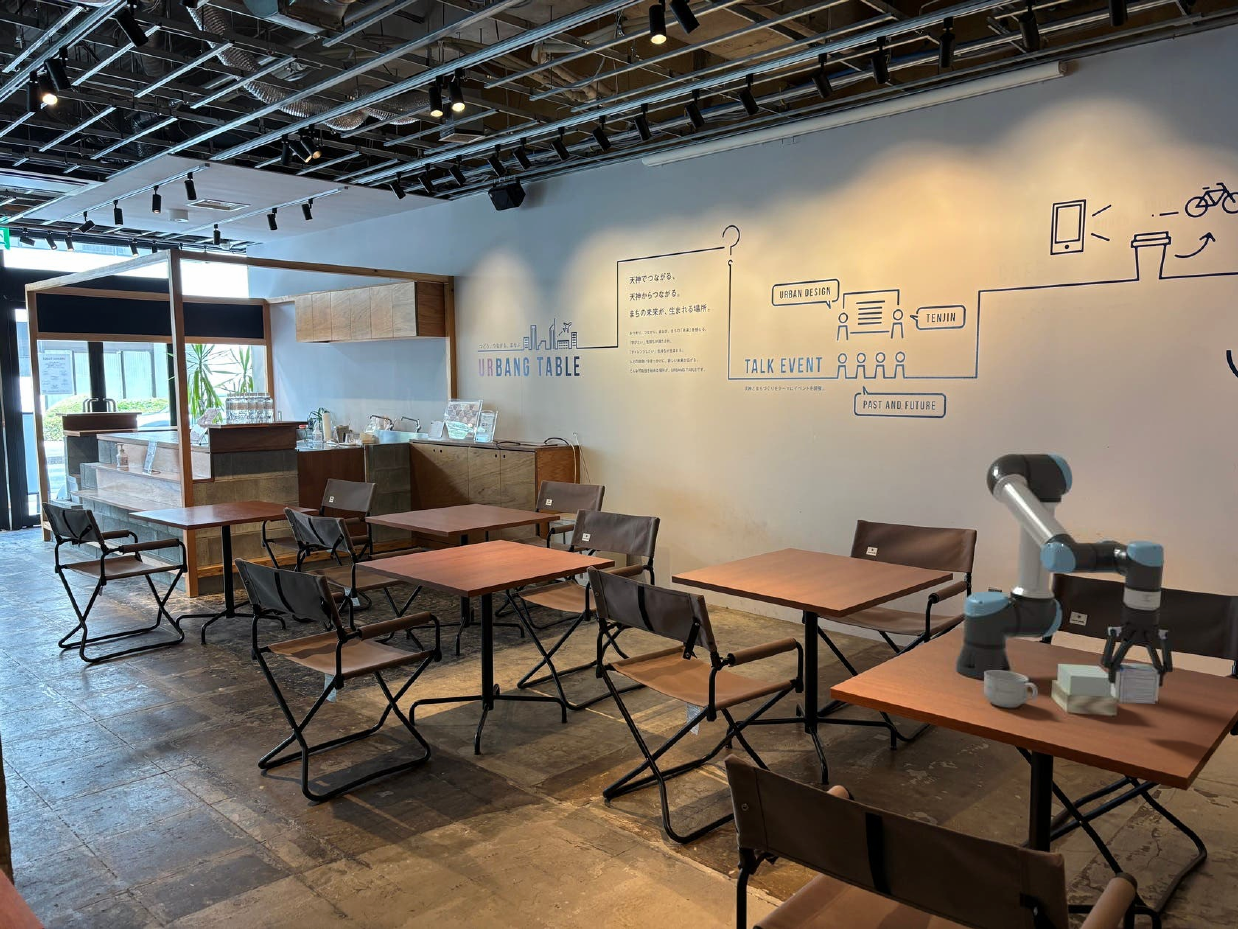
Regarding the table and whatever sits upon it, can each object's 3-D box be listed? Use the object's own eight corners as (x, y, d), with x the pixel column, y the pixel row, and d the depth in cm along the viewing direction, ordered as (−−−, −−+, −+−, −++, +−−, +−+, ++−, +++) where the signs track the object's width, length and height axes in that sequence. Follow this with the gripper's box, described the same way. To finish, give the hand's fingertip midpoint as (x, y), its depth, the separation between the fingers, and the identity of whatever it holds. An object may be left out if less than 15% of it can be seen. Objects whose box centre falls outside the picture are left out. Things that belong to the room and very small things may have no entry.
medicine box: (1146, 697, 214) (1149, 663, 213) (1155, 704, 209) (1158, 669, 209) (1112, 696, 215) (1115, 662, 214) (1120, 702, 210) (1123, 668, 209)
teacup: (973, 700, 233) (975, 670, 233) (1003, 695, 237) (1005, 666, 237) (1015, 718, 220) (1017, 687, 220) (1046, 712, 225) (1048, 682, 224)
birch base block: (1066, 713, 225) (1067, 695, 224) (1051, 697, 237) (1052, 680, 236) (1116, 717, 223) (1117, 698, 223) (1098, 701, 235) (1099, 682, 234)
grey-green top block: (1069, 694, 225) (1070, 675, 224) (1057, 682, 235) (1058, 663, 234) (1111, 697, 223) (1112, 678, 223) (1097, 684, 233) (1098, 666, 233)
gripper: (1100, 607, 208) (1093, 699, 210) (1196, 612, 204) (1187, 706, 207) (1089, 599, 215) (1082, 688, 217) (1181, 604, 212) (1173, 695, 214)
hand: (1133, 697), depth 212 cm, fingers closed on medicine box, 8 cm apart
